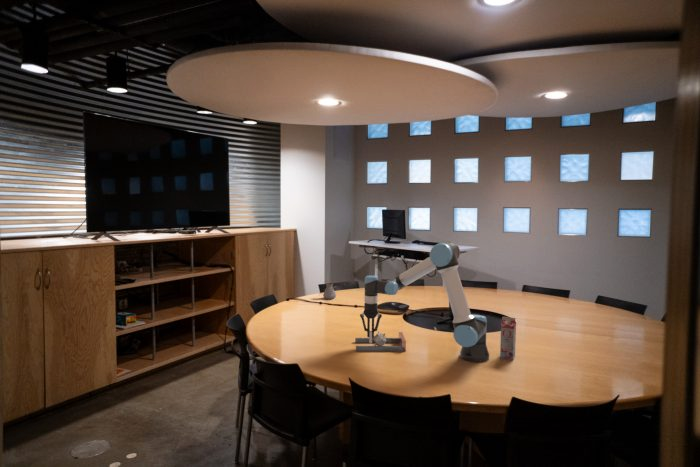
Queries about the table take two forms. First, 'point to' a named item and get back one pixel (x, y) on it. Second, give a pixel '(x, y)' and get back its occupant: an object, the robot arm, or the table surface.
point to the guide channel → (399, 340)
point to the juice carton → (508, 338)
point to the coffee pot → (330, 291)
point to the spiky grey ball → (379, 339)
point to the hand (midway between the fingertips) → (370, 342)
